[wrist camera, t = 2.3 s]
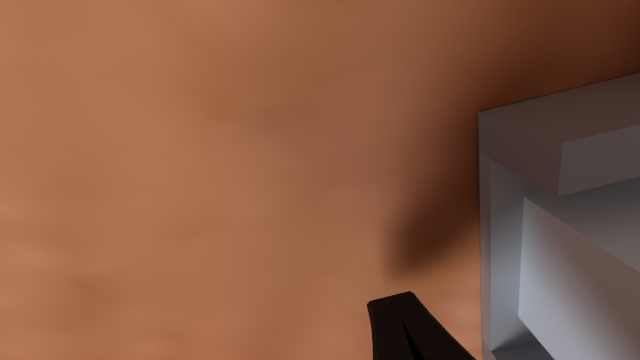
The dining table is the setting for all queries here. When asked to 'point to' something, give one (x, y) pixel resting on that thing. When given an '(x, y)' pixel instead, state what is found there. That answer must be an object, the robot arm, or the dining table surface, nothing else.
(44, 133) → the dining table surface
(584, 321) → the block
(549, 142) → the box
